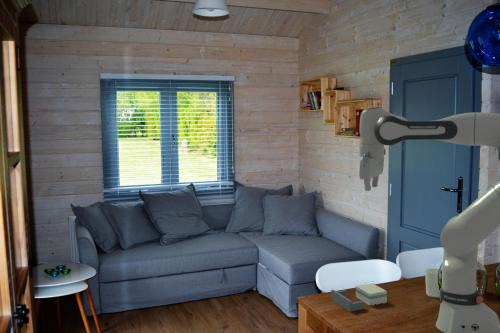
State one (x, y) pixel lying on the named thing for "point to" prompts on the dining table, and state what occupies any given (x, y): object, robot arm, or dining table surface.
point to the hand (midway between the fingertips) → (371, 188)
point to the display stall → (346, 301)
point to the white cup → (432, 283)
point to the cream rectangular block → (371, 294)
